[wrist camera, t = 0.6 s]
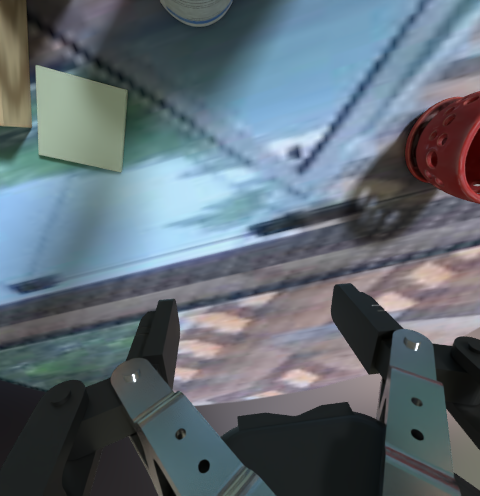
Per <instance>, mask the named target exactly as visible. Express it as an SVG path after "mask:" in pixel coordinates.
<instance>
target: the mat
mask: <svg viewBox="0 0 480 496" xmlns="http://www.w3.org/2000/svg"><path fill="white" fill-rule="evenodd" d="M36 90H37V117H38V144H39V155H44V156H48V157H53V158H57V159H62V160H67V161H71V162H76V163H80V164H85V165H90V166H94V167H99V168H104V169H108V170H113V171H117V172H122V166H123V152H124V139H125V125H126V111H127V98H128V91H127V90H125V89H121V88H117V87H114V86H110V85H107V84H103V83H99V82H96V81H92V80H88V79H85V78H81V77H78V76H74V75H70V74H67V73H63V72H59V71H56V70H52V69H49V68H45V67H41V66H38V65H36Z"/></svg>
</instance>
